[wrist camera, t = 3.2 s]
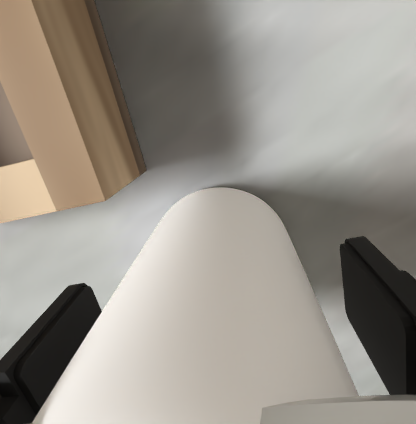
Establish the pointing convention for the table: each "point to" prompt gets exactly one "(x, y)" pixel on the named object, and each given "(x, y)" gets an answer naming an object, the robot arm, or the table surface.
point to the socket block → (60, 110)
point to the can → (204, 326)
